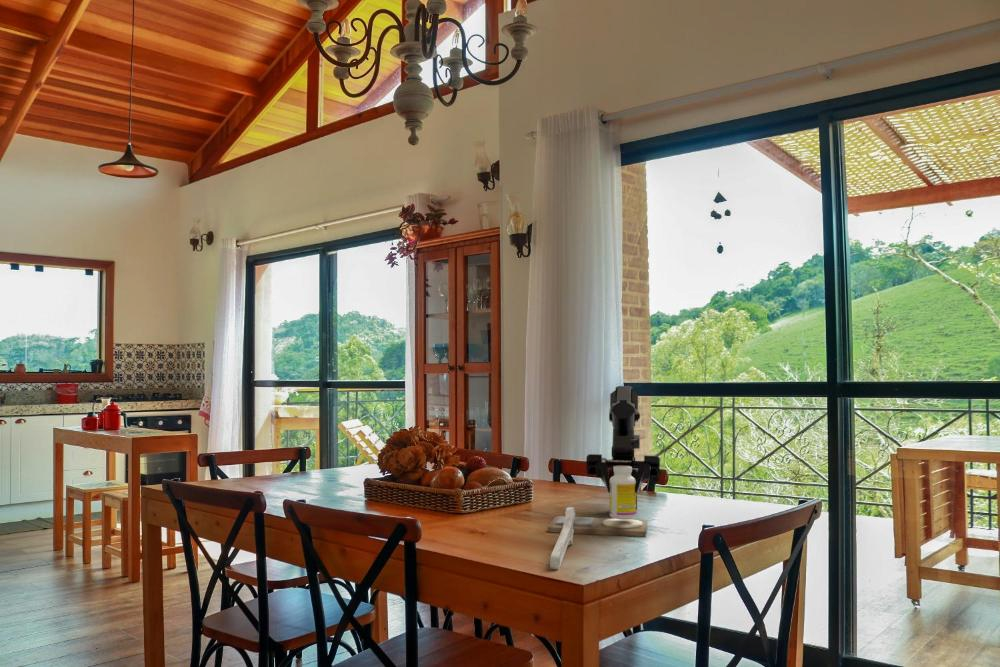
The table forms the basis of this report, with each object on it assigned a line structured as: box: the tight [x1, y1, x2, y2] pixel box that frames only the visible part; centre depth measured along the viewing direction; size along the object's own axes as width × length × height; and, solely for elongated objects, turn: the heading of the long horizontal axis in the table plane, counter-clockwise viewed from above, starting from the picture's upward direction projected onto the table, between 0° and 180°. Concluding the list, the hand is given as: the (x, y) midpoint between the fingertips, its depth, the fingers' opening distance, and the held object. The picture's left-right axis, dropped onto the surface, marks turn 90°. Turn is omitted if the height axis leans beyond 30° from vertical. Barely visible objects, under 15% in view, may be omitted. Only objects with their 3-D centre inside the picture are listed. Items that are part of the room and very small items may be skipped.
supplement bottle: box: [609, 466, 637, 519], centre depth 211 cm, size 7×7×13 cm
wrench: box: [549, 506, 576, 570], centre depth 184 cm, size 8×2×30 cm
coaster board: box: [547, 515, 648, 537], centre depth 212 cm, size 24×15×2 cm, turn 79°
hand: (622, 492), depth 210 cm, fingers closed on supplement bottle, 7 cm apart
